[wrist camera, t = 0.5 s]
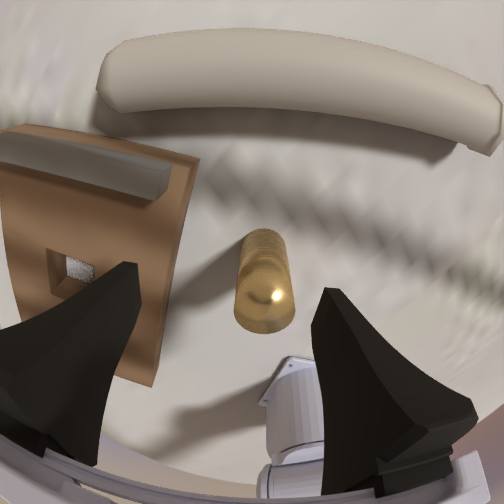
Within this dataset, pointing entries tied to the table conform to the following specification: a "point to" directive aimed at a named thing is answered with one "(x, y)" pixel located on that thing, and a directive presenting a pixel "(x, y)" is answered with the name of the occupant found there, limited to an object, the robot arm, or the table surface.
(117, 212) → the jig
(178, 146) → the table surface
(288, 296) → the brass cylinder
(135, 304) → the robot arm
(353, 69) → the tube
